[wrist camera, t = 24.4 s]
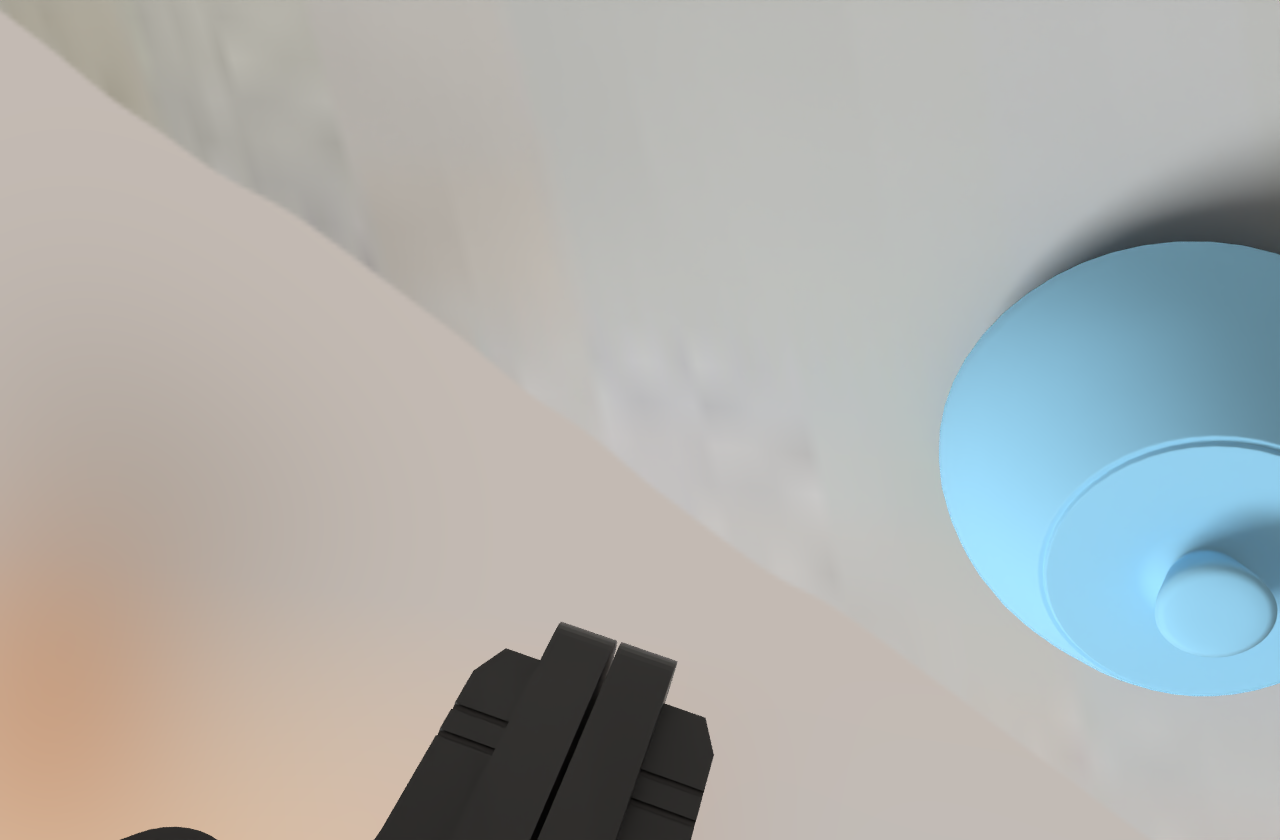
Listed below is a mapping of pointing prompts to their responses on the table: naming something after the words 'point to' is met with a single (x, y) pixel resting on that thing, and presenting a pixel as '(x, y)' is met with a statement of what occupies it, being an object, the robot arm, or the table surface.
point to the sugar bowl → (1131, 464)
